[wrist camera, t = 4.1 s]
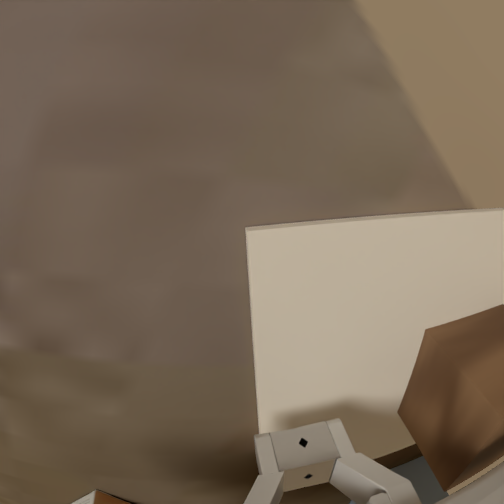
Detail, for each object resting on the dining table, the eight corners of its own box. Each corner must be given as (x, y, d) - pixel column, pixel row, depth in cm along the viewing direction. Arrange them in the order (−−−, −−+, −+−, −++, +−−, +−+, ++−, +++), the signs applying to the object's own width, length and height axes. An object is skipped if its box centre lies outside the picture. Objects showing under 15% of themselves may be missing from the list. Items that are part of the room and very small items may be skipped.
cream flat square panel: (245, 227, 8) (246, 231, 8) (560, 205, 10) (564, 207, 10) (262, 481, 14) (263, 486, 14) (488, 403, 16) (491, 406, 16)
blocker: (425, 329, 11) (503, 418, 6) (502, 303, 11) (572, 364, 7) (397, 412, 13) (444, 492, 8) (471, 381, 13) (520, 443, 9)
